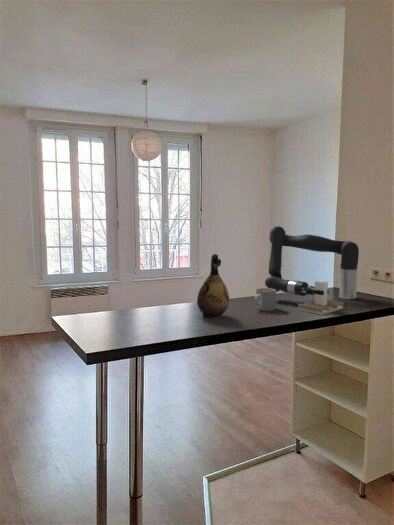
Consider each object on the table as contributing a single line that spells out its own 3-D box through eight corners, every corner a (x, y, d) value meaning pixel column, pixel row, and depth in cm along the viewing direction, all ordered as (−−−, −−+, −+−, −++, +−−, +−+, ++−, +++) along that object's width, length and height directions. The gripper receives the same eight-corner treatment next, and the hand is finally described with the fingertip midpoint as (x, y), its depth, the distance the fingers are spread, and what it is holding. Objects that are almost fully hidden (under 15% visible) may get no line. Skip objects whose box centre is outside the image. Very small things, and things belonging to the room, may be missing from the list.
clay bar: (318, 303, 211) (319, 280, 210) (326, 304, 207) (327, 281, 206) (314, 304, 209) (315, 281, 207) (322, 305, 205) (323, 282, 203)
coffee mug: (267, 305, 217) (267, 287, 215) (279, 309, 208) (279, 290, 207) (246, 308, 210) (247, 289, 209) (258, 312, 201) (259, 292, 200)
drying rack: (319, 304, 220) (319, 298, 220) (343, 308, 209) (343, 302, 209) (297, 309, 207) (297, 303, 207) (321, 314, 196) (322, 308, 196)
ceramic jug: (231, 320, 186) (232, 256, 183) (198, 320, 185) (198, 256, 182) (226, 311, 203) (226, 252, 200) (195, 312, 202) (195, 252, 199)
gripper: (290, 282, 213) (318, 286, 200) (305, 279, 222) (333, 283, 209) (289, 296, 214) (317, 301, 201) (305, 293, 223) (333, 298, 210)
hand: (325, 292), depth 205 cm, fingers closed on clay bar, 4 cm apart
